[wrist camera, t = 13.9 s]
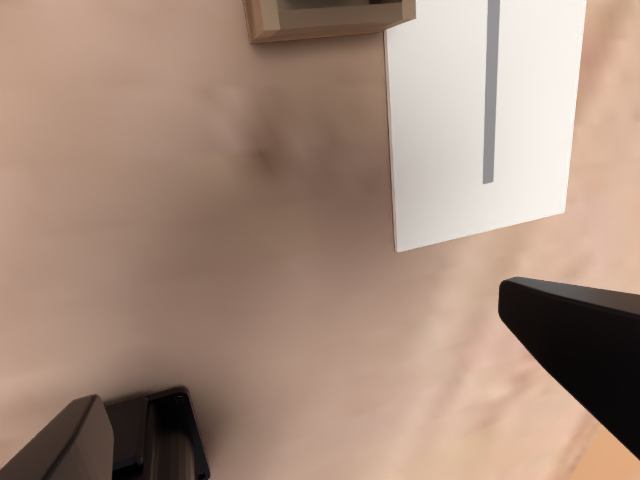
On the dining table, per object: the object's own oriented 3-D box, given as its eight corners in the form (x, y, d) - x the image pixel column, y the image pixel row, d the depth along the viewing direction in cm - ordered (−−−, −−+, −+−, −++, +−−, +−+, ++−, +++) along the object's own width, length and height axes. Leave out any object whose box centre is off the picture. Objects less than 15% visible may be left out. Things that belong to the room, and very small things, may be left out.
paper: (560, 211, 26) (565, 212, 26) (395, 250, 23) (397, 252, 23) (590, -86, 21) (596, -89, 21) (377, -84, 18) (381, -88, 18)
